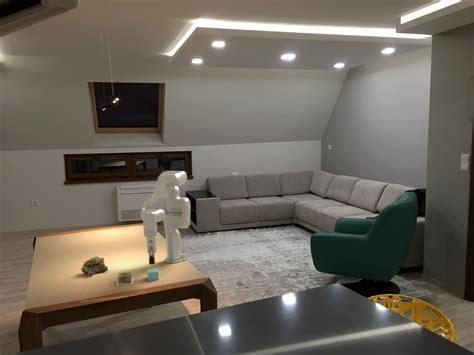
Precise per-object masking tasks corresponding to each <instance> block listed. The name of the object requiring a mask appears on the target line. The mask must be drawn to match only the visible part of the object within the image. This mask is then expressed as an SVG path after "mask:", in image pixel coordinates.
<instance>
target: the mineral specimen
mask: <svg viewBox="0 0 474 355" xmlns="http://www.w3.org/2000/svg"><path fill="white" fill-rule="evenodd" d="M104 260H105V257H99V256H96V255H95V256H94V257H91V258H89V259H87V260H85V261H84V262H83V265H82V267H81V268H80V270H81V272H82V273H83V274H84V275H85V274H86V275H96V274H101V273H106V272H108V271H109V269H108V268H109V267H108V265H105V261H104Z"/></svg>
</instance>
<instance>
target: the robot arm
mask: <svg viewBox="0 0 474 355" xmlns="http://www.w3.org/2000/svg"><path fill="white" fill-rule="evenodd" d="M187 180H188V176H187V172H186V171H183V170H167V171H162V172H161V173H160V174H159V176H158V177H157V181H156V184H155V188H154V192H153V193H152V194H151V195H149V196H148V197H147V198H146V199H145V201H144V202H143V203H142V207H141V210H140V219H141V220H142V221H143V236H144V237H145V238H146V241H145V242H146V249H147V250H146V251H147V254H148V264H149V265H155V264H156V256H155V254H157V237H156V236H158V223H159V222H163V225H164V229H165V230H164V231H165V243H166V257H165V258H164V261H165V263H169V264H175V263H181V262H183V261H184V259H185V257H188V258H189V253H187V252H185V253H183V252H182V243H181V242H182V241H181V233H180V231H179V229H188V228H189V227H190V225H191V201H190V199H189V198H188V197H183V196H181V197H180V188H179V187H182V186H183V185H184V184H185V183H186V182H187ZM165 200H166V206H165V207H166V210H167V211H168V212H171V213H168V214H166V212H165V211H164V209H163V208H151V207H152V206H154V205H156V204H157V203H160V202H162V201H165ZM173 212H177V213H173Z"/></svg>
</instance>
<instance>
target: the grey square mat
mask: <svg viewBox="0 0 474 355" xmlns="http://www.w3.org/2000/svg"><path fill="white" fill-rule="evenodd" d="M130 284H134V277H132V281H131V283H126V284H125V285H130ZM121 285H124V284H118V280H117V282H116V286H121Z"/></svg>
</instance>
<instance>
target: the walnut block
mask: <svg viewBox="0 0 474 355" xmlns="http://www.w3.org/2000/svg"><path fill="white" fill-rule="evenodd" d="M117 275H118V276H117V281H118V284H123V285H127V284H126V283H131V281H132V278H133V276H132V271H129V272H127V271H126V272H120V273H119V272H118V274H117Z"/></svg>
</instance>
